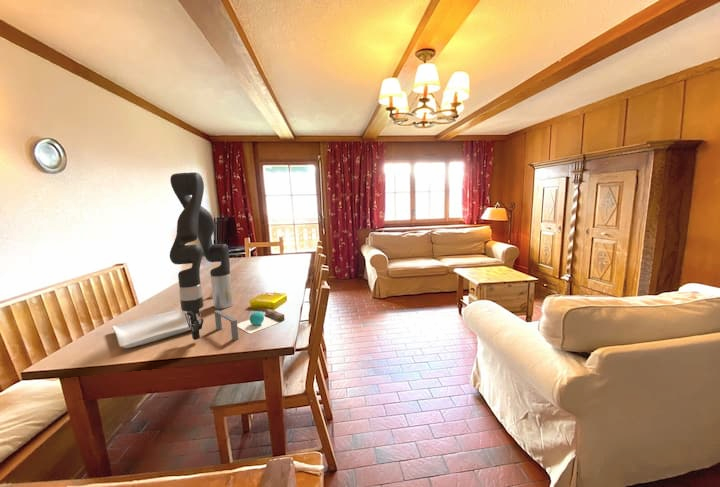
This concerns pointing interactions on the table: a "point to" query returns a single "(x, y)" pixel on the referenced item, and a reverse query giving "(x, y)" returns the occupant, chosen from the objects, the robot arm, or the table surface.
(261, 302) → the element tile
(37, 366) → the table surface
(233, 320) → the grey u-shaped frame
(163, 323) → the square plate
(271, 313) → the stopper
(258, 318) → the ball
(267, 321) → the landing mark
